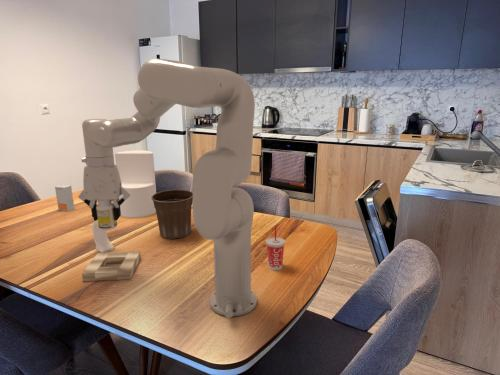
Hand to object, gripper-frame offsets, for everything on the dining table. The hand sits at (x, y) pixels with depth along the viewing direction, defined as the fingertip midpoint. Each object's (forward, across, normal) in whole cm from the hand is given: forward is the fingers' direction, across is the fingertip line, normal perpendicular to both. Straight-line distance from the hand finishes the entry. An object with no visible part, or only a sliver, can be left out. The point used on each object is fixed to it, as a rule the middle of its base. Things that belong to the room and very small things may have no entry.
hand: (107, 218), depth 108 cm
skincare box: (+18, -41, +63) cm, 77 cm away
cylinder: (+18, -5, +57) cm, 60 cm away
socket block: (+17, 0, 0) cm, 17 cm away
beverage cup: (+17, +52, -3) cm, 55 cm away
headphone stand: (+18, -8, +16) cm, 25 cm away
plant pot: (+17, +16, +28) cm, 37 cm away
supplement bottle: (+3, 0, 0) cm, 3 cm away
